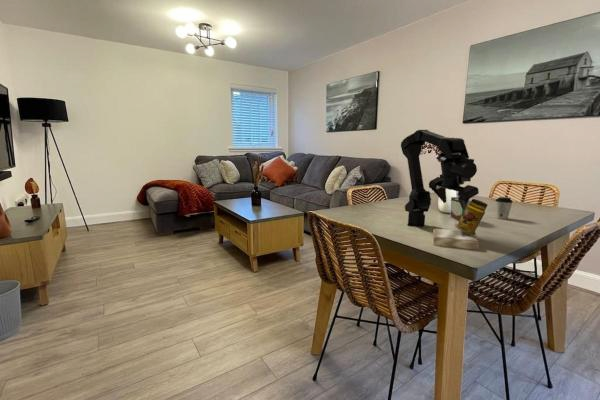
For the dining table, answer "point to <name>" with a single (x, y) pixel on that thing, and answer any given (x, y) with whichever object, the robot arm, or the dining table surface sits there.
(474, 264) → the dining table surface
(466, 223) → the condiment
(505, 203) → the coffee cup
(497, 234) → the dining table surface
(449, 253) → the dining table surface
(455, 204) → the food container
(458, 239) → the picture frame
